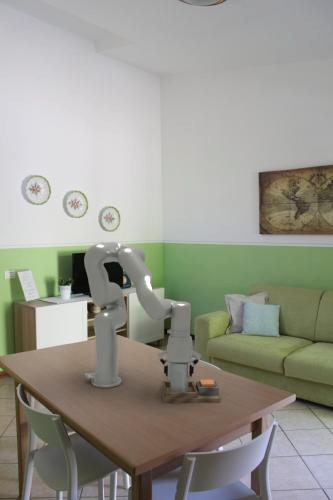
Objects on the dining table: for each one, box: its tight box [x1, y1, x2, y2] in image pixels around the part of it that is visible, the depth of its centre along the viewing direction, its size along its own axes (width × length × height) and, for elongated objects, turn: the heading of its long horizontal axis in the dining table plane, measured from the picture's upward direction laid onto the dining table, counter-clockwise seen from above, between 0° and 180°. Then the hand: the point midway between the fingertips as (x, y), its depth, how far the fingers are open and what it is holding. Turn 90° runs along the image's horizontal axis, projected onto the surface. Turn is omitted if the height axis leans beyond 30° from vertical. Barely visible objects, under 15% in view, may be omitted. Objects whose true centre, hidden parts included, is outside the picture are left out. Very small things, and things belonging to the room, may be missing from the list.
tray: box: [160, 380, 221, 404], centre depth 173 cm, size 22×14×4 cm, turn 94°
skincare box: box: [170, 363, 189, 392], centre depth 173 cm, size 6×4×12 cm
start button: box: [199, 379, 215, 387], centre depth 174 cm, size 5×5×2 cm
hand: (178, 375), depth 173 cm, fingers open, 9 cm apart
